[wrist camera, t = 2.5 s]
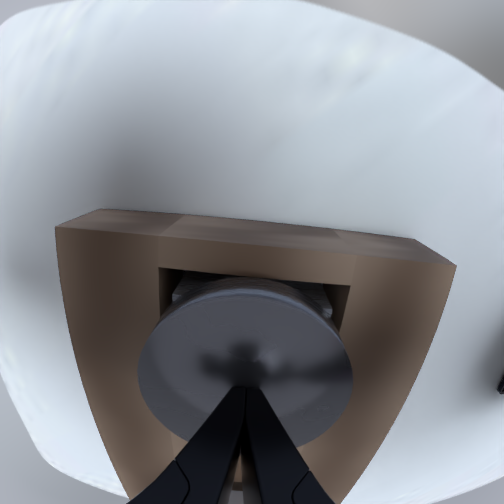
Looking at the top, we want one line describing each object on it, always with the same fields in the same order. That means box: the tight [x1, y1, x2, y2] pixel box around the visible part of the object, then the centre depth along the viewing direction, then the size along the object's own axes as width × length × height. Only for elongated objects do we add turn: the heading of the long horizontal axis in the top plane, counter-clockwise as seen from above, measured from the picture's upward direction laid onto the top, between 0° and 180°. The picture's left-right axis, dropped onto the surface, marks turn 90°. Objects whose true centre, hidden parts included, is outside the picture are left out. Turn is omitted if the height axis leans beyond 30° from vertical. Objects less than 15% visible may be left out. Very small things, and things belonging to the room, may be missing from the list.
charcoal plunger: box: [137, 270, 353, 456], centre depth 11 cm, size 6×6×5 cm
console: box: [55, 209, 457, 504], centre depth 14 cm, size 14×20×4 cm
